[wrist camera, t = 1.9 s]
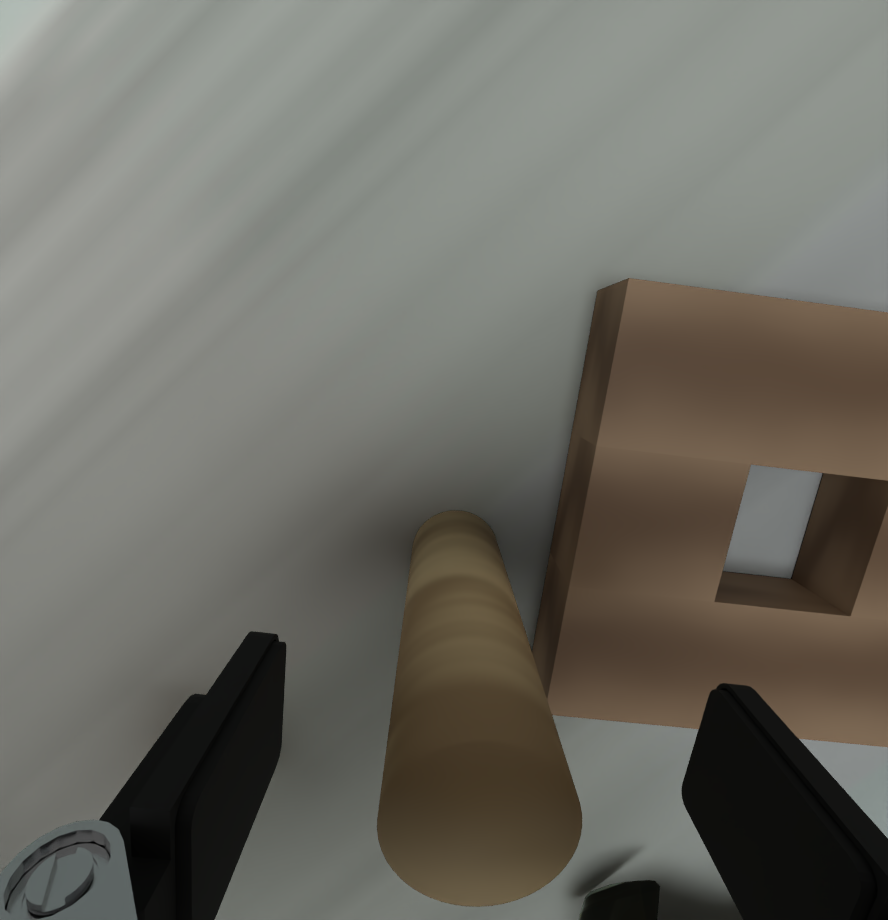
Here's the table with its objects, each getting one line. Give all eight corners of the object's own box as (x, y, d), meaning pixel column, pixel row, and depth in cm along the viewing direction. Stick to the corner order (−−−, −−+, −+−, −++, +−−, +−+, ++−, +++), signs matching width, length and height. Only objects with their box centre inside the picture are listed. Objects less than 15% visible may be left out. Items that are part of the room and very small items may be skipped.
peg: (491, 594, 21) (562, 913, 9) (408, 585, 20) (368, 898, 9) (503, 515, 20) (599, 750, 8) (417, 505, 20) (387, 731, 8)
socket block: (872, 698, 22) (939, 752, 19) (529, 664, 21) (544, 714, 18) (1000, 343, 18) (1107, 341, 16) (597, 290, 18) (629, 277, 15)
